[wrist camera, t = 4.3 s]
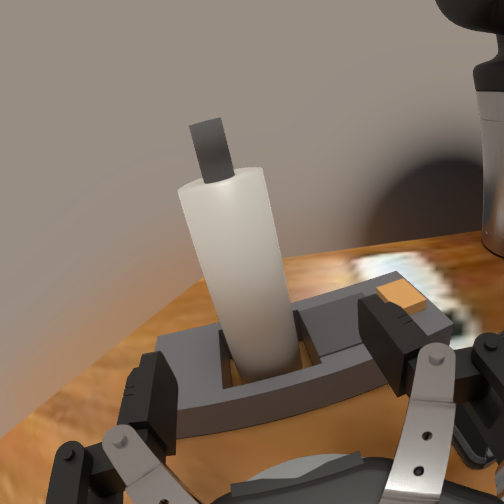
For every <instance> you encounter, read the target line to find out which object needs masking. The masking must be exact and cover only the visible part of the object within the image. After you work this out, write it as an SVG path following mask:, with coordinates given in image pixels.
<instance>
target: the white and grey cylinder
mask: <svg viewBox="0 0 504 504" xmlns="http://www.w3.org/2000/svg"><path fill="white" fill-rule="evenodd" d="M189 128H190V131H191V135H192V139H193V143H194V147H195V151H196V154H197V158H198V162H199V166H200V169H201V173H202V177H203V178H201V179H198V180H195V181H193V182H190V183H188V184H186V185H184V186H182V187H181V188H180V189H178V195H179V198H180V202H181V205H182V208H183V212H184V215H185V218H186V221H187V225H188V228H189V231H190V234H191V238H192V241H193V244H194V247H195V250H196V253H197V256H198V259H199V262H200V266H201V269H202V271H203V274H204V278H205V281H206V284H207V287H208V289H209V292H210V295H211V298H212V301H213V304H214V307H215V310H216V313H217V316H218V318H219V321H220V324H221V327H222V330H223V332H224V335H225V338H226V341H227V343H228V346H229V349H230V352H231V354H232V357H233V360H234V362H235V365H236V368H237V370H238V373H239V375H240V378H241V381H242V383H243V385H245V384H249V383H253V382H257V381H261V380H265V379H269V378H273V377H277V376H280V375H284V374H288V373H291V372H295V371H298V370H302V369H303V366H302V360H301V355H300V349H299V344H298V339H297V333H296V328H295V323H294V317H293V312H292V307H291V302H290V297H289V292H288V287H287V282H286V277H285V272H284V267H283V262H282V257H281V252H280V248H279V243H278V238H277V233H276V229H275V224H274V219H273V215H272V210H271V205H270V201H269V196H268V192H267V187H266V183H265V178H264V174H263V170H262V168H260V167H247V168H240V169H233V165H232V161H231V157H230V153H229V149H228V145H227V141H226V137H225V133H224V129H223V125H222V120H221V118H216V119H212V120H208V121H204V122H201V123H197V124H194V125H190V126H189Z"/></svg>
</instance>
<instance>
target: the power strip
mask: <svg viewBox="0 0 504 504" xmlns="http://www.w3.org/2000/svg"><path fill="white" fill-rule="evenodd" d="M372 294H377V295H378V296H379V297H380V298H381V299H382V300H383V301H384V303H387V302H389V301H391V302H393V303H395V304H397V305H399V306H401V307H402V308H403V309H404V310H405V311H406V312H407V314H408V315H409V316H410V317H411V318H412V319H413V321H415V322H416V323H417V324H418V325H419V327H420V328H421V329H422V330H423V331H424V332H425V333H426V334H427V335H428V337H429V338H430V339H431V340H432V341H433V342H434V343H443V344H446V345H448V346H449V344H450V340H451V335H452V330H453V325H454V323H453V322H452V321H451V320H450V319H449V318H448V317H447V316H446V315H444V314H443V313H442V312H441V311H440V310H439V309H438V308H437V307H436V306H435V305H434V304H433V303H432V302H431V301H430V300H428V299H427V298H426V297H425V296H424V295H423V294H422V293H421V292H420V291H419V290H417V289H416V288H415V287H414V286H413V285H412V284H411V283H410V282H409V281H407V280H406V279H405V278H404V277H403V276H402V275H401V274H399V273H398V272H397V271H394V272H391V273H388V274H385V275H382V276H379V277H376V278H373V279H370V280H367V281H364V282H361V283H357V284H354V285H351V286H348V287H345V288H341V289H338V290H335V291H332V292H328V293H325V294H322V295H318V296H315V297H311V298H308V299H304V300H301V301H297V302H294V303H291V307H292V312H293V317H294V323H295V328H296V333H297V339H298V341H299V340H302V339H303V341H304V344H305V346H306V348H307V351H308V353H309V355H310V358H311V360H312V362H313V365H314V366H312V367H308V368H305V369H302V370H298V371H295V372H291V373H288V374H284V375H280V376H277V377H273V378H269V379H265V380H261V381H257V382H253V383H249V384H245V385H240V386H236V387H232V381H231V372H230V362H229V359H230V358H233V357H232V354H231V352H230V349H229V346H228V343H227V341H226V338H225V335H224V332H223V330H222V327H221V324H220V322H218V323H214V324H209V325H205V326H201V327H197V328H192V329H188V330H184V331H179V332H175V333H170V334H166V335H161V336H158V337H157V342H156V347H155V352H156V351H161V352H162V353H163V355H164V357H165V358H166V360H167V362H168V364H169V366H170V368H171V370H172V371H173V373H174V375H175V377H176V380H177V383H178V390H179V391H178V409H177V429H176V439H178V438H186V437H193V436H200V435H207V434H213V433H219V432H224V431H230V430H235V429H240V428H245V427H249V426H254V425H258V424H263V423H267V422H271V421H275V420H279V419H283V418H287V417H290V416H294V415H298V414H301V413H305V412H308V411H311V410H315V409H318V408H321V407H324V406H327V405H331V404H334V403H337V402H339V401H342V400H345V399H348V398H351V397H354V396H356V395H359V394H362V393H365V392H367V391H370V390H372V389H375V388H377V387H380V386H382V385H385V384H387V383H388V382H387V380H386V378H385V377H384V375H383V374H382V372H381V370H380V369H379V367H378V366H377V364H376V363H375V361H374V359H373V358H372V356H371V355H370V353H369V352H368V350H367V349H366V347H365V345H364V344H363V342H362V340H361V338H360V335H359V330H358V307H357V302H358V299H360V298H363V297H366V296H369V295H372Z"/></svg>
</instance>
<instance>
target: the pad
mask: <svg viewBox="0 0 504 504" xmlns="http://www.w3.org/2000/svg"><path fill="white" fill-rule="evenodd" d="M346 455H349V454H320V455H313V456H306V457H302V458H297V459H293V460H290V461H287V462H283V463H281V464H278V465H276V466H273V467H271V468H268V469H266V470H264V471H263V472H261V473H258V474H257V475H255V476H254V477H252V478H250V479H249V480H247V481H252V480H257V479H262V478H263V479H278V478H297V477H300V476H302V475H304V474H306V473H308V472H310V471H312V470H314V469H315V468H317V467H319V466H321V465H323V464H324V463H326V462H328V461H331V460H334V459H337V458H340V457H343V456H346ZM361 457H362V456H361ZM362 458H365V457H362Z"/></svg>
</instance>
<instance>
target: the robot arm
mask: <svg viewBox="0 0 504 504" xmlns="http://www.w3.org/2000/svg"><path fill="white" fill-rule="evenodd" d="M435 1H436V3H437V5H438V7H439V9H440V10H441V12H442V13H443V14H444V15H445V16H446V17H447V18H448V19H449V20H450V21H452V22H453V23H455V24H456V25H458V26H461V27H463V28H467V29H470V30H474V31H481V32H487V33H494V34H496V37H497V42H498V54H497V55H496V57H494V59H492V60H490V61H487V62H484V63H482V64H479V65H477V66H476V67H475V68H474V70H473V77H474V83H475V89H476V91H477V92H476V94H477V101H478V108H479V116H480V124H481V134H482V148H483V169H484V205H483V227H482V242H483V244H484V245H485V246H486V247H487V248H488V249H489V250H491V251H492V252H494V253H496V254H498V255H500V256H502V257H504V0H435ZM357 307H358V330H359V335H360V338H361V340H362V342H363V344H364V345H365V347H366V349H367V350H368V352H369V353H370V355H371V356H372V358H373V359H374V361H375V363H376V364H377V366H378V367H379V369H380V370H381V372H382V374H383V375H384V377H385V378H386V380H387V382H388V383H389V385H390V386H391V388H392V390H393V391H394V393H395V394H396V396H397V398H398V397H400V396H402V395H404V394H407V395H408V397H409V398H410V399H409V403H408V408H407V412H406V416H405V420H404V424H403V428H402V432H401V436H400V439H399V443H398V446H397V449H396V453H395V456H394V459H389V458H383V457H365V458H362V457H361V455H360V452H359V451H357V452H354V453H352V454H349V455H346V456H343V457H340V458H337V459H334V460H331V461H328V462H326V463H324V464H323V465H321V466H319V467H317V468H315V469H314V470H312V471H310V472H308V473H306V474H304V475H302V476H300V477H297V478H278V479H263V478H262V479H257V480H252V481H246V482H240V483H234V484H230V485H231V492H229V493H227V494H225V495H223V496H221V497H219V498H218V499H216V500H215V501H213V502H212V503H211V504H504V339H503V338H502V337H501V336H499V335H497V334H495V333H483V334H481V335H479V336H478V337H477V338H476V339H475V341H474V345H473V347H468V348H463V349H458V350H453V349H452V348H451V347H450V346H448V345H446V344H443V343H434V342H433V341H432V340H431V339H430V338H429V337H428V335H427V334H426V333H425V332H424V331H423V330H422V329H421V328H420V327H419V325H418V324H417V323H416V322H415V321H413V319H412V318H411V317H410V316H409V315H408V314H407V312H406V311H405V310H404V309H403V308H402V307H401V306H399V305H397V304H395V303H393V302H391V301H389V302H387V303H384V301H383V300H382V299H381V298H380V297H379V296H378V295H377V294H372V295H369V296H366V297H363V298H360V299H358V302H357ZM178 391H179V390H178V383H177V380H176V377H175V375H174V373H173V371H172V370H171V368H170V366H169V364H168V362H167V360H166V358H165V357H164V355H163V353H162V352H161V351H156V352H151V353H146V354H143V355H142V357H141V361H140V365H139V367H137V368H134V369H133V370H132V372H131V373H130V375H129V376H128V378H127V382H126V386H125V390H124V394H123V396H124V397H123V399H122V403H121V407H120V412H119V417H118V421H117V426H114V427H112V428H111V429H110V430H108V431H107V432H106V434H105V435H104V437H103V440H102V442H100V443H98V444H95V445H92V446H88V447H85V448H84V447H83V446H82V445H81V444H80V443H79V442H77V441H68V442H66V443H64V444H62V445H61V446H60V447H59V449H58V450H57V452H56V455H55V459H54V463H53V468H52V473H51V477H50V482H49V488H48V493H47V499H46V504H123V491H125V490H126V492H127V494H128V495H129V497H130V498H131V500H132V501H133V502H134V504H204V503H203V502H202V501H201V500H200V499H199V498H198V497H197V496H196V495H195V494H194V493H193V492H192V491H191V490H190V489H189V488H188V487H187V486H186V485H185V484H184V483H183V482H182V481H181V480H180V479H179V478H178V477H177V476H176V475H175V474H174V472H173V471H172V470H171V469H170V468H169V467H168V466H167V465H166V464H165V463H166V456H171V455H176V429H177V409H178ZM459 403H462V405H463V407H464V408H465V410H466V411H467V413H468V414H469V416H470V418H471V419H472V421H473V422H474V424H475V426H476V427H477V429H478V430H479V432H480V434H481V435H482V437H483V439H484V440H485V442H486V444H487V445H488V447H489V449H490V451H491V452H492V454H493V456H494V458H495V459H496V461H497V463H498V467H497V469H496V472H495V482H496V487H497V496H494V495H492V494H488V493H485V492H481V491H478V490H475V489H471V488H468V487H465V486H462V485H459V484H456V483H453V482H450V481H447V480H445V479H444V477H445V473H446V468H447V463H448V458H449V452H450V446H451V440H452V434H453V426H454V418H455V409H456V404H459ZM87 498H88V499H87Z"/></svg>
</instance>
